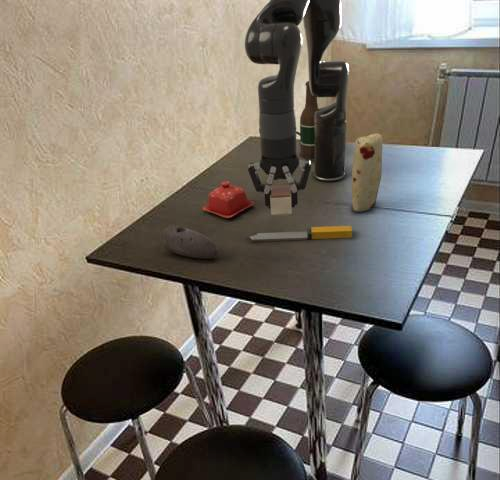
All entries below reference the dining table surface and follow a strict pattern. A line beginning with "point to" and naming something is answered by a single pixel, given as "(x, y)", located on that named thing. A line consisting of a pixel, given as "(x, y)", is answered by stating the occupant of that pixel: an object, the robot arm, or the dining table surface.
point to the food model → (366, 171)
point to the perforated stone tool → (188, 243)
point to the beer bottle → (308, 125)
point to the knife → (306, 234)
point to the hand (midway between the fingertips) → (281, 206)
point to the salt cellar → (281, 200)
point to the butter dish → (227, 200)
